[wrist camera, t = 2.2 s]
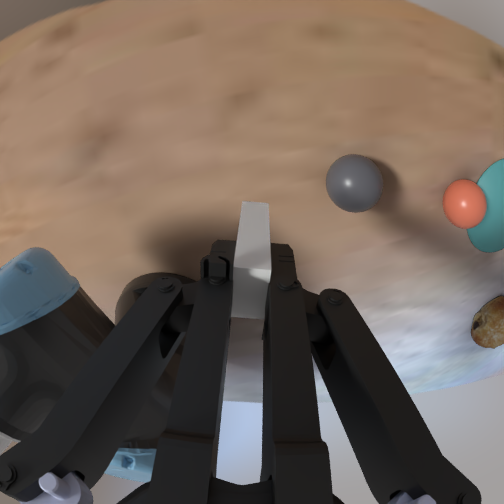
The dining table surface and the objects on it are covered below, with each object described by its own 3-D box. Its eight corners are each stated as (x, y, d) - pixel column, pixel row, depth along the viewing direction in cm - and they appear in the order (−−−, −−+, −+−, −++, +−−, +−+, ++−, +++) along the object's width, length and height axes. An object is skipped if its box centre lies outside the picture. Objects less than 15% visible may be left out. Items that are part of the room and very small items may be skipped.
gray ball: (348, 208, 32) (362, 233, 27) (310, 177, 30) (319, 198, 25) (382, 171, 29) (403, 191, 24) (345, 137, 27) (362, 150, 23)
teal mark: (488, 267, 35) (488, 268, 35) (449, 211, 31) (450, 212, 31) (541, 204, 29) (542, 205, 29) (512, 136, 25) (513, 136, 25)
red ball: (448, 223, 32) (471, 246, 27) (426, 195, 30) (450, 217, 26) (476, 193, 29) (501, 212, 25) (455, 163, 28) (483, 180, 23)
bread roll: (477, 283, 42) (483, 315, 36) (523, 289, 37) (532, 321, 31) (463, 324, 47) (464, 356, 41) (506, 328, 42) (510, 360, 36)
